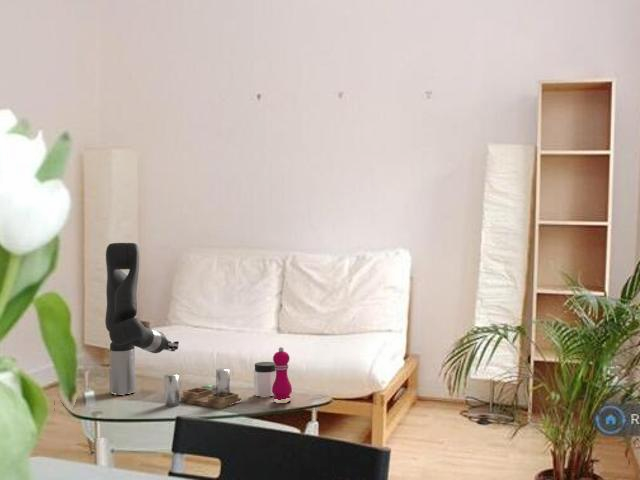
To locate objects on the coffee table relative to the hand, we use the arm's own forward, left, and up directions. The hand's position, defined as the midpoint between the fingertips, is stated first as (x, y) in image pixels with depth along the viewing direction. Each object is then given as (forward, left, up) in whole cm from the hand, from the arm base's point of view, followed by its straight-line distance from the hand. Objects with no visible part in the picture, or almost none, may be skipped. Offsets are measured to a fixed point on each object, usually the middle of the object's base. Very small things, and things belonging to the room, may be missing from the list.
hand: (173, 348), depth 259 cm
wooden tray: (+8, +11, -21) cm, 24 cm away
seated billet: (+14, +11, -19) cm, 26 cm away
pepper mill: (+30, +25, -21) cm, 44 cm away
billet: (-1, 0, -21) cm, 21 cm away
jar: (+18, +30, -21) cm, 40 cm away
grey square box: (-2, +19, -21) cm, 28 cm away
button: (-2, +19, -20) cm, 28 cm away
